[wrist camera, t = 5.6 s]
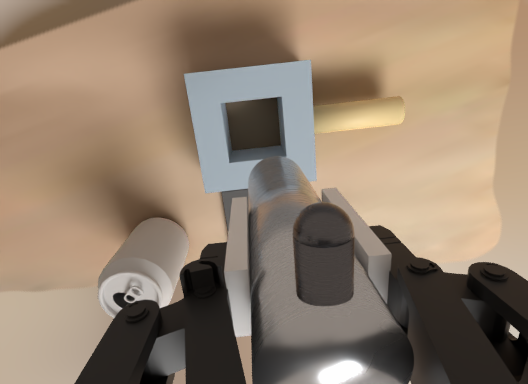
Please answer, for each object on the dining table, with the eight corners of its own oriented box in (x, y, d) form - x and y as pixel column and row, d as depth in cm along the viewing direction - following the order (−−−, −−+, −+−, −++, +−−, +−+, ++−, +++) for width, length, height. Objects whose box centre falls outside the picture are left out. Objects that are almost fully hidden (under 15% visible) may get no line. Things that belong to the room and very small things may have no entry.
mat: (230, 245, 42) (230, 247, 41) (222, 190, 39) (221, 192, 38) (289, 238, 42) (289, 240, 41) (284, 183, 39) (284, 185, 39)
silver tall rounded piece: (254, 239, 23) (267, 488, 9) (241, 126, 20) (230, 229, 6) (306, 233, 23) (402, 471, 9) (301, 120, 20) (431, 209, 6)
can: (122, 243, 41) (74, 304, 30) (154, 203, 39) (116, 252, 28) (169, 273, 43) (140, 341, 32) (201, 236, 41) (183, 295, 30)
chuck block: (211, 176, 38) (205, 193, 33) (194, 75, 34) (183, 73, 29) (385, 157, 39) (408, 170, 33) (388, 53, 34) (416, 48, 29)
